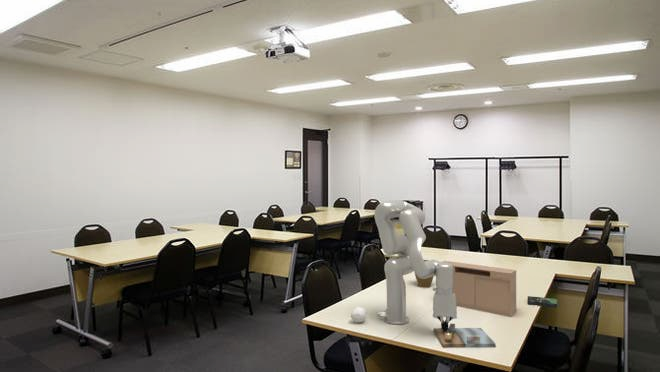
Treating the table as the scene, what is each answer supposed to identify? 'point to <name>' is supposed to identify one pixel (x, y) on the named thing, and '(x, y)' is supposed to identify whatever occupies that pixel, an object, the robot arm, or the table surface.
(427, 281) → the plant pot
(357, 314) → the white ball
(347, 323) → the table surface
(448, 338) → the lock bar
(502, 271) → the box
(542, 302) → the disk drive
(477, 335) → the plate
